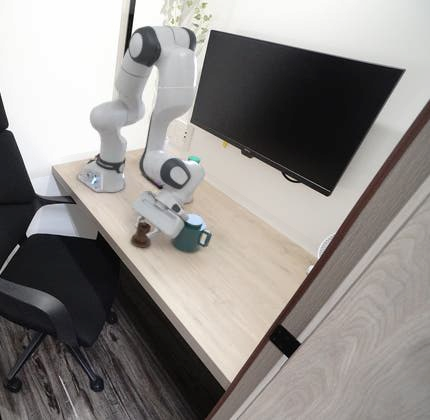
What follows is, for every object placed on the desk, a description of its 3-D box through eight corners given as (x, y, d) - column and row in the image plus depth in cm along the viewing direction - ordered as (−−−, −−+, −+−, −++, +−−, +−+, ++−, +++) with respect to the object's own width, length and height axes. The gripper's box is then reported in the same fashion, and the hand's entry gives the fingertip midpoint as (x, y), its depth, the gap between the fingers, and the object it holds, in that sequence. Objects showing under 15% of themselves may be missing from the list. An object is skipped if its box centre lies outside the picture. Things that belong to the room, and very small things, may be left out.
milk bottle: (192, 204, 138) (206, 163, 126) (174, 202, 139) (185, 161, 128) (190, 195, 144) (203, 154, 133) (172, 193, 146) (183, 152, 134)
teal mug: (167, 243, 118) (175, 219, 111) (179, 232, 123) (187, 208, 116) (198, 260, 111) (208, 235, 104) (209, 248, 116) (219, 223, 110)
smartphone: (155, 169, 161) (174, 184, 149) (154, 171, 161) (174, 186, 150) (141, 172, 158) (160, 187, 147) (141, 174, 159) (160, 189, 147)
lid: (127, 240, 118) (131, 222, 113) (138, 232, 122) (142, 214, 117) (143, 250, 114) (148, 231, 109) (153, 241, 118) (158, 222, 113)
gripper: (143, 185, 118) (119, 214, 120) (187, 214, 104) (158, 246, 106) (150, 192, 123) (126, 219, 124) (192, 220, 108) (165, 251, 110)
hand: (141, 232), depth 115 cm, fingers closed on lid, 4 cm apart
